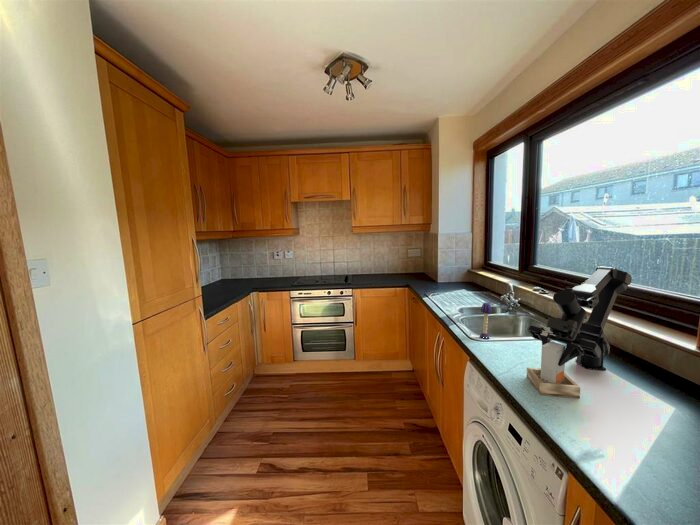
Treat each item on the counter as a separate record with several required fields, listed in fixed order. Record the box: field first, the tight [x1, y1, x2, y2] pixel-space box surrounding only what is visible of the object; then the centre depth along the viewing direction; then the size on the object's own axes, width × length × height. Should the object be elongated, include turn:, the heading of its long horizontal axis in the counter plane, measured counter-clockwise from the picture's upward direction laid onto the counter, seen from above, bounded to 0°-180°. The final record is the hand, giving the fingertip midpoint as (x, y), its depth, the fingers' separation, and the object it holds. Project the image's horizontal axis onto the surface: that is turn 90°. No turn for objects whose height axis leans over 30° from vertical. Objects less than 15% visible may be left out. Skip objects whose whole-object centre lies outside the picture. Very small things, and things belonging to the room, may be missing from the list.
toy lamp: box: [479, 302, 493, 339], centre depth 127 cm, size 5×5×17 cm
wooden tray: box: [526, 367, 581, 399], centre depth 88 cm, size 10×10×4 cm
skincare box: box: [540, 341, 566, 384], centre depth 87 cm, size 6×4×12 cm
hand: (550, 362), depth 86 cm, fingers closed on skincare box, 4 cm apart
